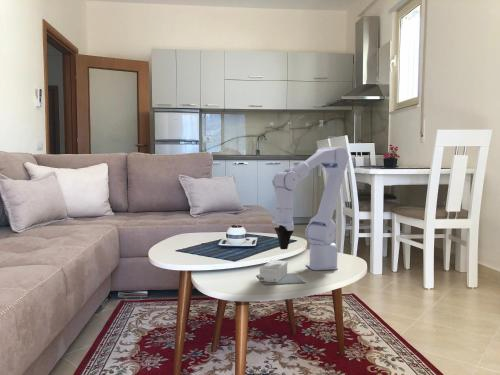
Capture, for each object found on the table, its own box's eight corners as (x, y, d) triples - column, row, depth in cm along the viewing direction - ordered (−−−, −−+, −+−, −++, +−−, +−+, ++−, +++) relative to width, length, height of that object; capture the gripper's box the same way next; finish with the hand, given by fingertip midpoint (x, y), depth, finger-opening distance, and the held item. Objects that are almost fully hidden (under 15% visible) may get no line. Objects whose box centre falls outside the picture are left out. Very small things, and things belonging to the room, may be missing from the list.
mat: (293, 274, 141) (293, 273, 141) (304, 283, 130) (304, 282, 130) (256, 275, 138) (256, 274, 138) (264, 285, 128) (264, 284, 128)
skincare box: (287, 261, 140) (278, 268, 129) (287, 274, 140) (278, 283, 129) (269, 259, 142) (259, 267, 131) (269, 272, 142) (259, 281, 131)
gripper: (267, 206, 144) (266, 245, 145) (278, 210, 130) (278, 253, 131) (286, 206, 146) (286, 244, 146) (300, 210, 132) (299, 253, 132)
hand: (283, 249), depth 139 cm, fingers closed
